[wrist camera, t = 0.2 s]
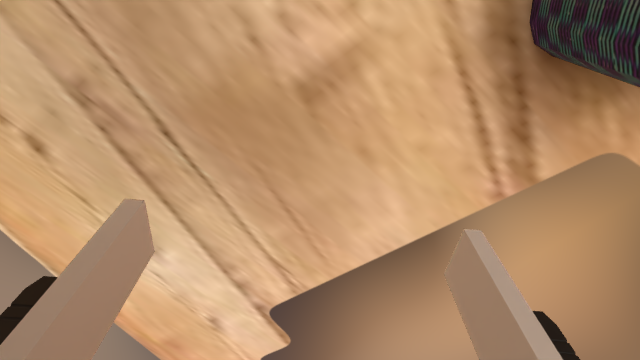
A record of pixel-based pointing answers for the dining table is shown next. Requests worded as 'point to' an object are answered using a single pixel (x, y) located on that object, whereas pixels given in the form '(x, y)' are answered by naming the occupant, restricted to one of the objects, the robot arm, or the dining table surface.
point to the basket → (591, 34)
